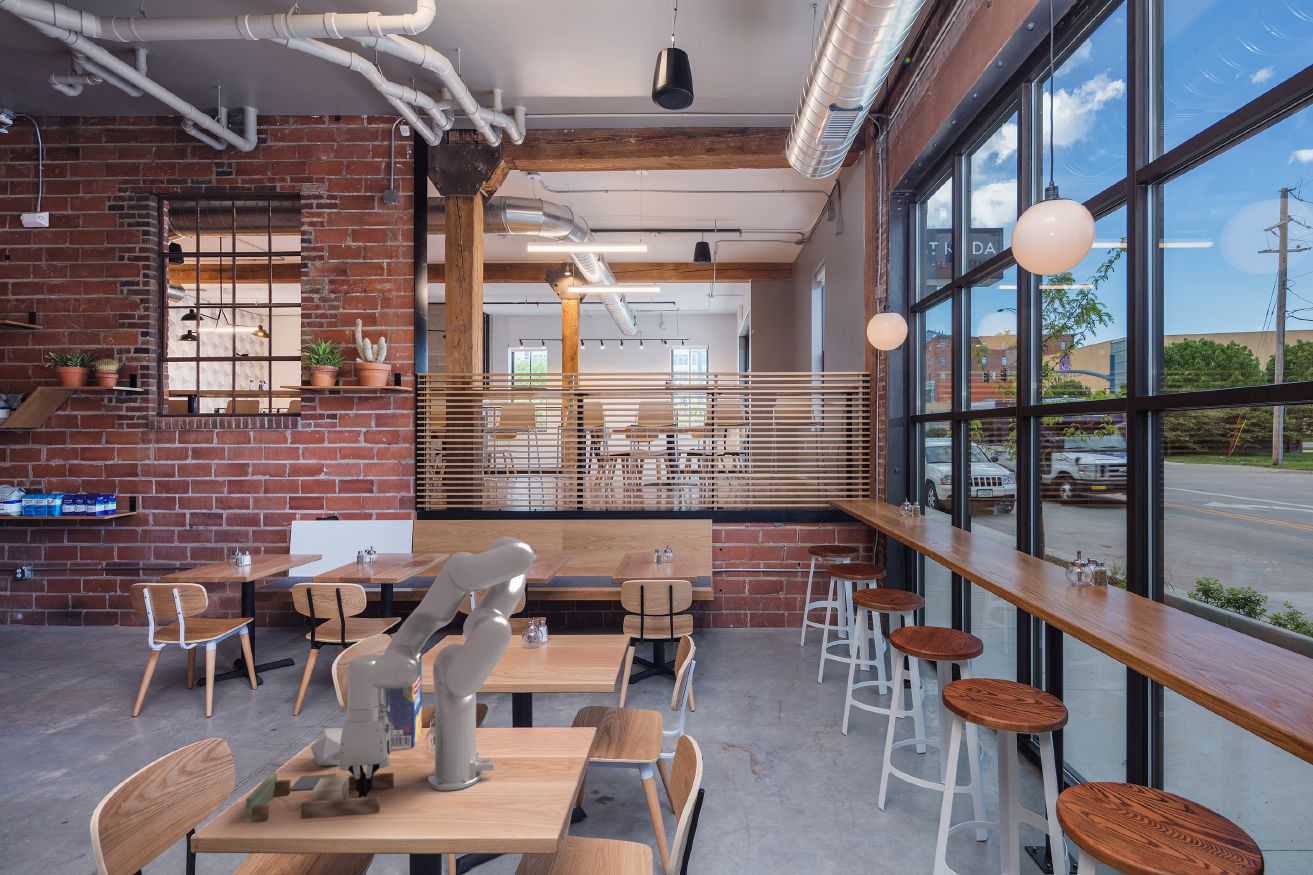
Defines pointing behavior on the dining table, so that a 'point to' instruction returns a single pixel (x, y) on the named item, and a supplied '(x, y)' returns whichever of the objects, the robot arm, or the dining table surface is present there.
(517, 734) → the dining table surface
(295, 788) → the mat
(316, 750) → the die
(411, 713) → the beverage box
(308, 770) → the dining table surface
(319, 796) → the oak block
